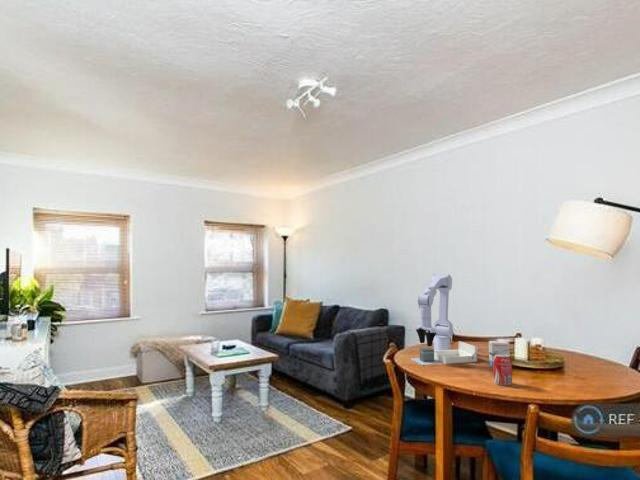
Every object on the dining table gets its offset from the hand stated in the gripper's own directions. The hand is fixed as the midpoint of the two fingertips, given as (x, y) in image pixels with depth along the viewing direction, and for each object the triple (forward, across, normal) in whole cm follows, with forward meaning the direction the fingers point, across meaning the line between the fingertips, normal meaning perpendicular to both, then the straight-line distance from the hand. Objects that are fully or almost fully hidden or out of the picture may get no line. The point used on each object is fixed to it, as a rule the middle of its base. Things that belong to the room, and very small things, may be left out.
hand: (425, 344), depth 203 cm
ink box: (+9, +16, +31) cm, 36 cm away
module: (+8, 0, 0) cm, 8 cm away
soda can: (+9, +41, +13) cm, 44 cm away
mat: (+9, 0, 0) cm, 9 cm away
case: (+9, +1, +16) cm, 18 cm away
